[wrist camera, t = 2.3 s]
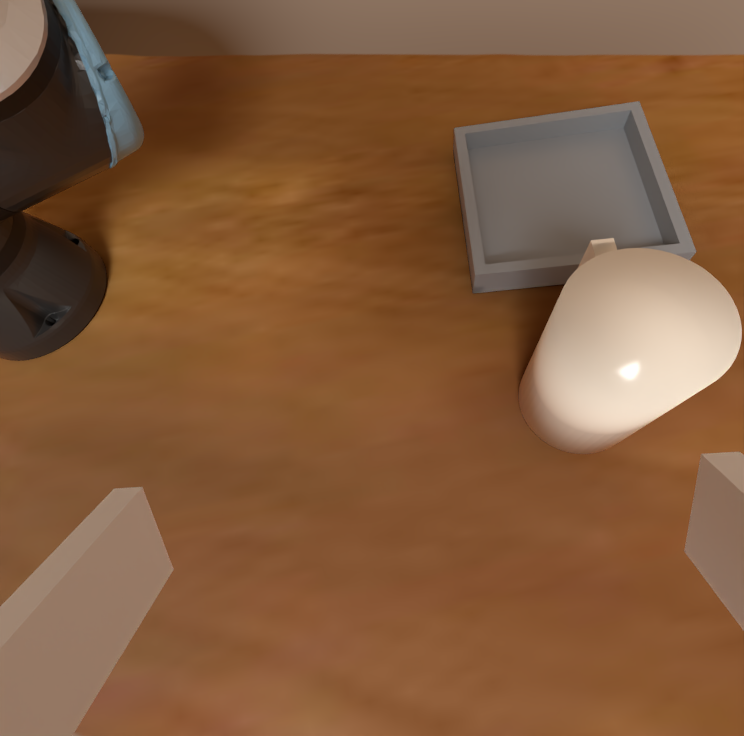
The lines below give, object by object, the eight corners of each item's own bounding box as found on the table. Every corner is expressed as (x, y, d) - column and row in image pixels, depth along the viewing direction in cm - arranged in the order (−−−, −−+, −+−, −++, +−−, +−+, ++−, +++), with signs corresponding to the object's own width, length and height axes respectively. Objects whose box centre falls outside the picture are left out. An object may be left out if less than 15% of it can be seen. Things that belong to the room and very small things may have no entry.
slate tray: (472, 293, 42) (475, 275, 39) (453, 151, 49) (453, 128, 46) (678, 272, 40) (696, 251, 37) (627, 127, 47) (639, 101, 44)
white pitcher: (527, 457, 36) (576, 402, 23) (506, 329, 40) (537, 223, 27) (648, 450, 35) (769, 389, 22) (612, 319, 39) (695, 204, 26)
